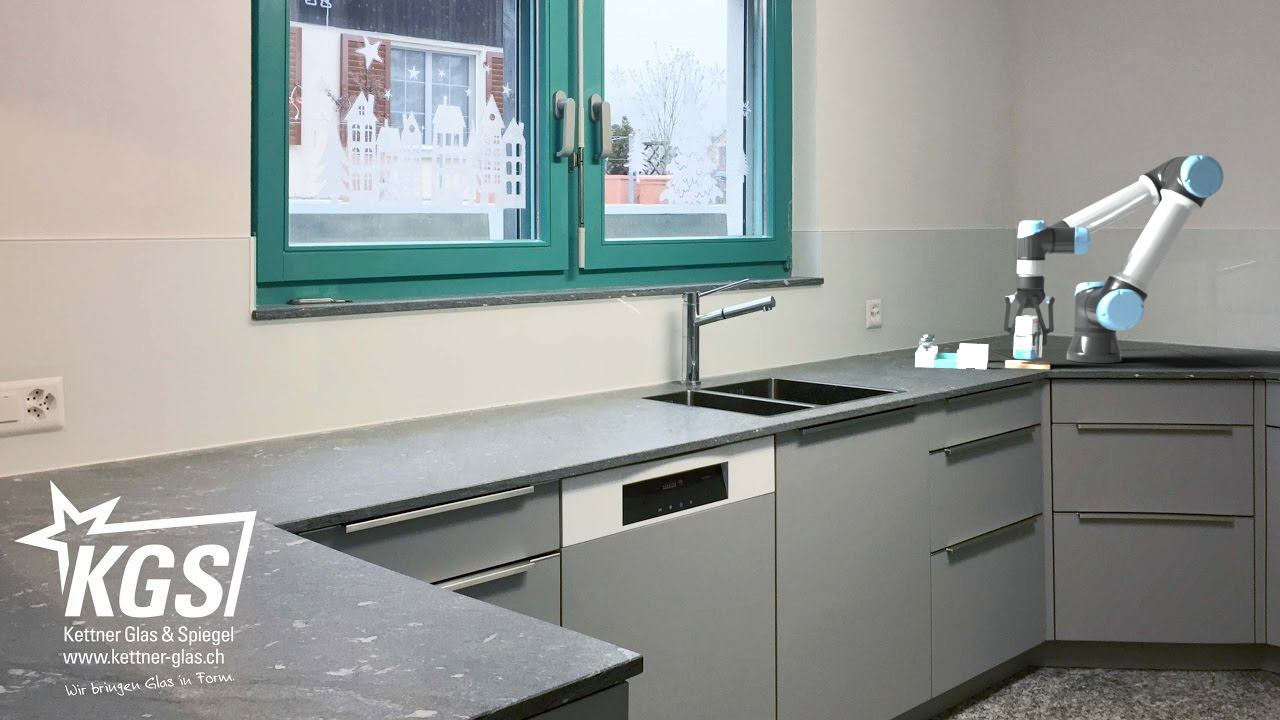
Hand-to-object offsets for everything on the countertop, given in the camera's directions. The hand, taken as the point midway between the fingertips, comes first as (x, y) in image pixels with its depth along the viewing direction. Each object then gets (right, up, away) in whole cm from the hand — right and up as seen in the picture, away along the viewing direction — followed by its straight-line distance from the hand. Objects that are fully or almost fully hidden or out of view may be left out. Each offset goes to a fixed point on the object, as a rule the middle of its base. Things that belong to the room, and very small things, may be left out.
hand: (1027, 356), depth 344 cm
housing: (-20, -2, +6) cm, 21 cm away
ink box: (0, -1, 0) cm, 1 cm away
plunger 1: (-25, 0, +13) cm, 29 cm away
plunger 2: (-28, -2, +4) cm, 29 cm away
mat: (0, -3, 0) cm, 3 cm away
